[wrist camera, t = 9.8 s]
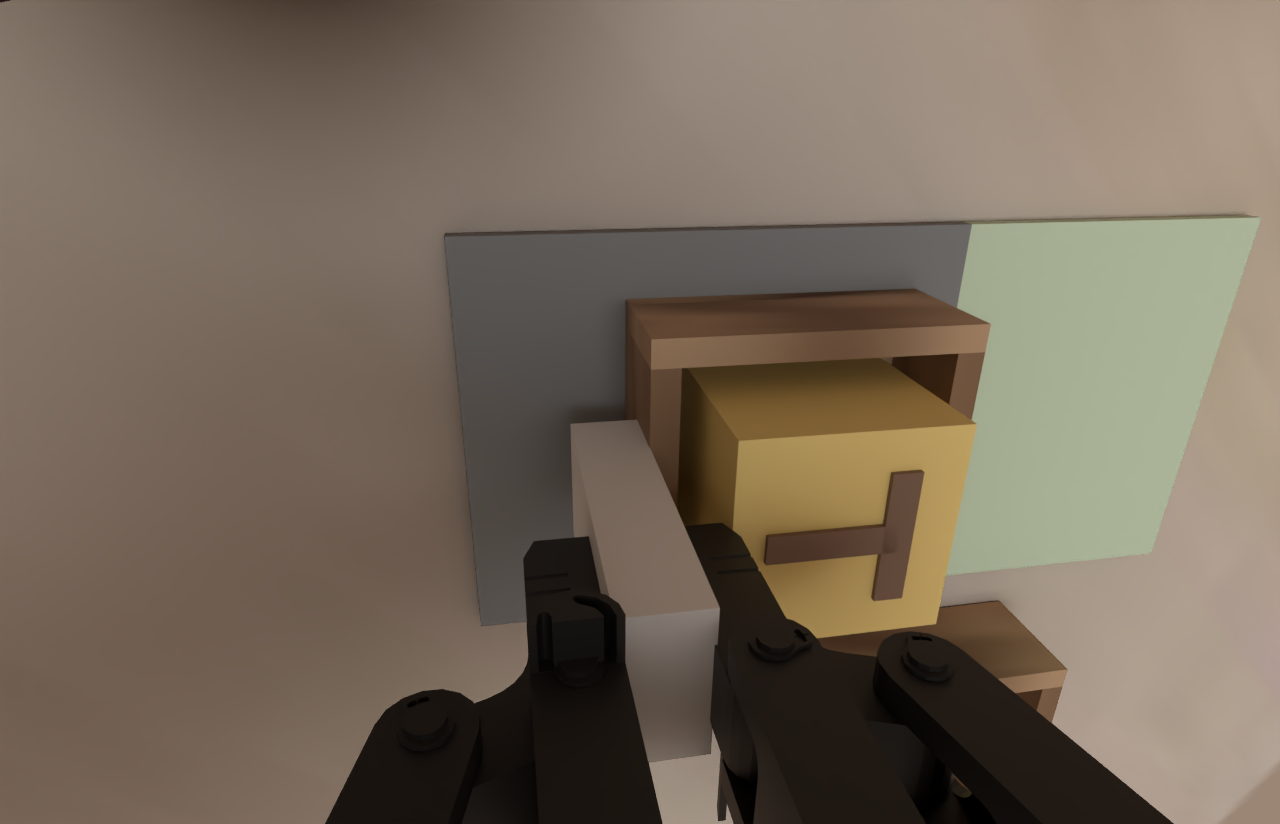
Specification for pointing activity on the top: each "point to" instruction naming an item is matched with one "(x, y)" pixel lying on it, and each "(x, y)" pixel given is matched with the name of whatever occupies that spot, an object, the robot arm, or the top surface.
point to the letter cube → (828, 484)
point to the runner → (853, 261)
